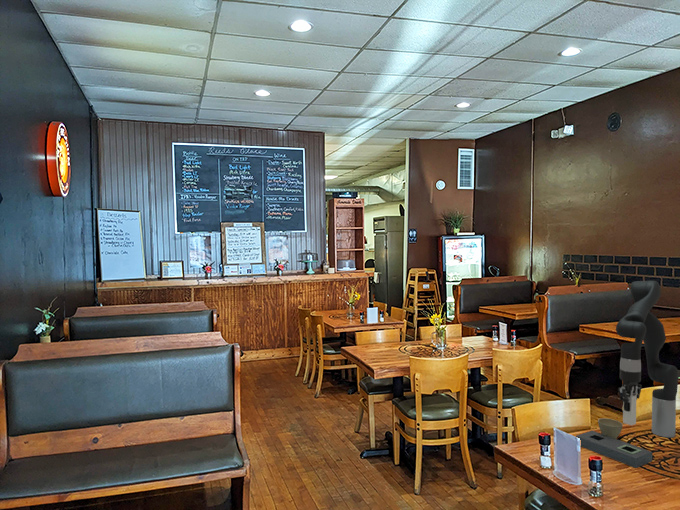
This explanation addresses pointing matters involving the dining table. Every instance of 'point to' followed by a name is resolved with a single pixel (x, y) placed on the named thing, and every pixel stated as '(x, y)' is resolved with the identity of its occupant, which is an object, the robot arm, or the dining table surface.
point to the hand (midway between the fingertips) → (629, 409)
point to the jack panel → (615, 449)
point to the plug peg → (630, 412)
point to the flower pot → (610, 427)
